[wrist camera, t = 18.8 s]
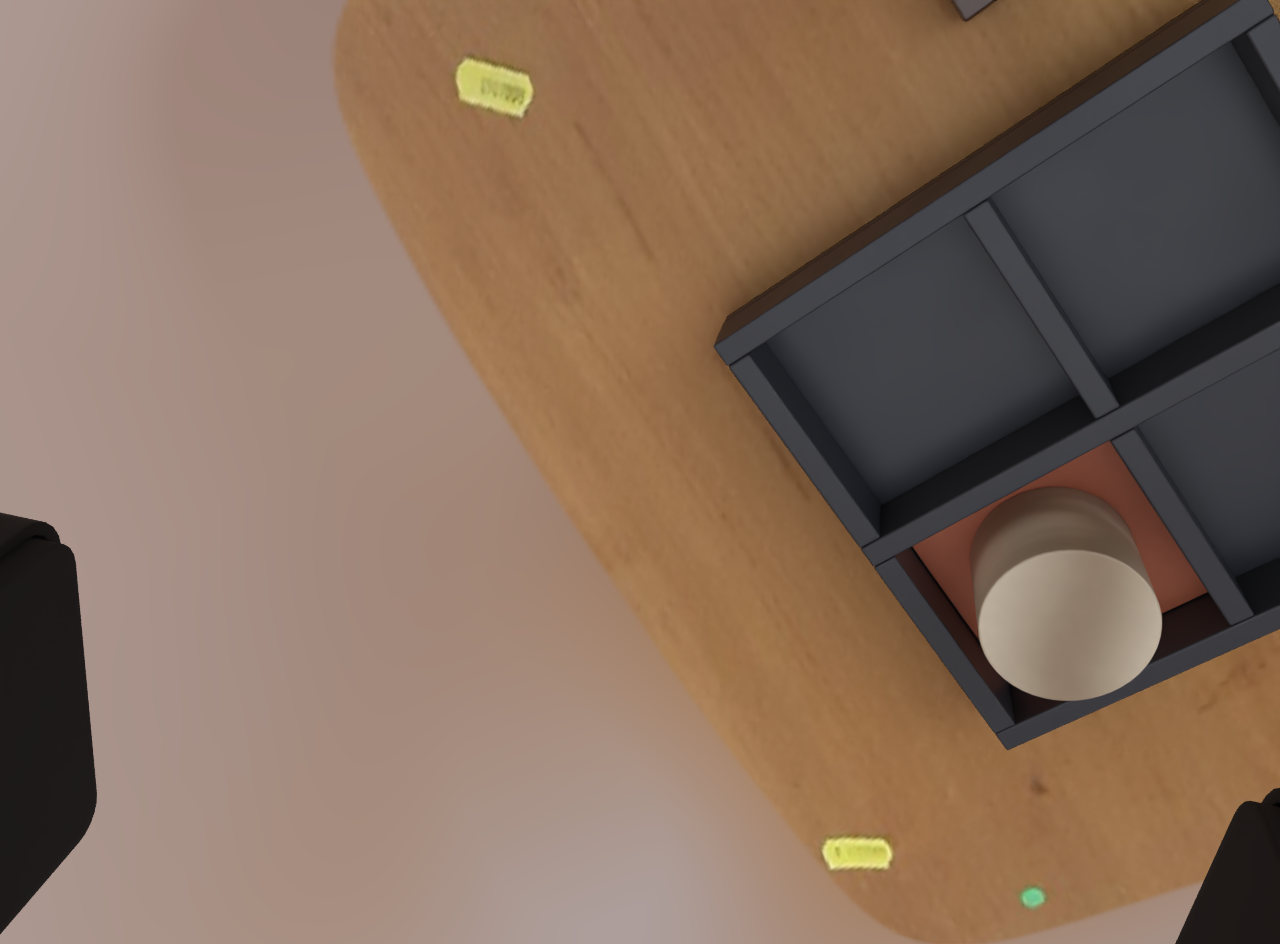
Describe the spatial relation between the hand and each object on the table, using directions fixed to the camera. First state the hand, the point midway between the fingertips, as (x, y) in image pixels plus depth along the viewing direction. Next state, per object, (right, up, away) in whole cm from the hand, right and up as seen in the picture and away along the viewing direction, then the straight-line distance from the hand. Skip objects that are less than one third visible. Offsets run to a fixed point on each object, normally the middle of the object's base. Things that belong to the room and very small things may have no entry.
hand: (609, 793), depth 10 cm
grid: (+13, +5, +24) cm, 28 cm away
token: (+12, 0, +26) cm, 28 cm away
